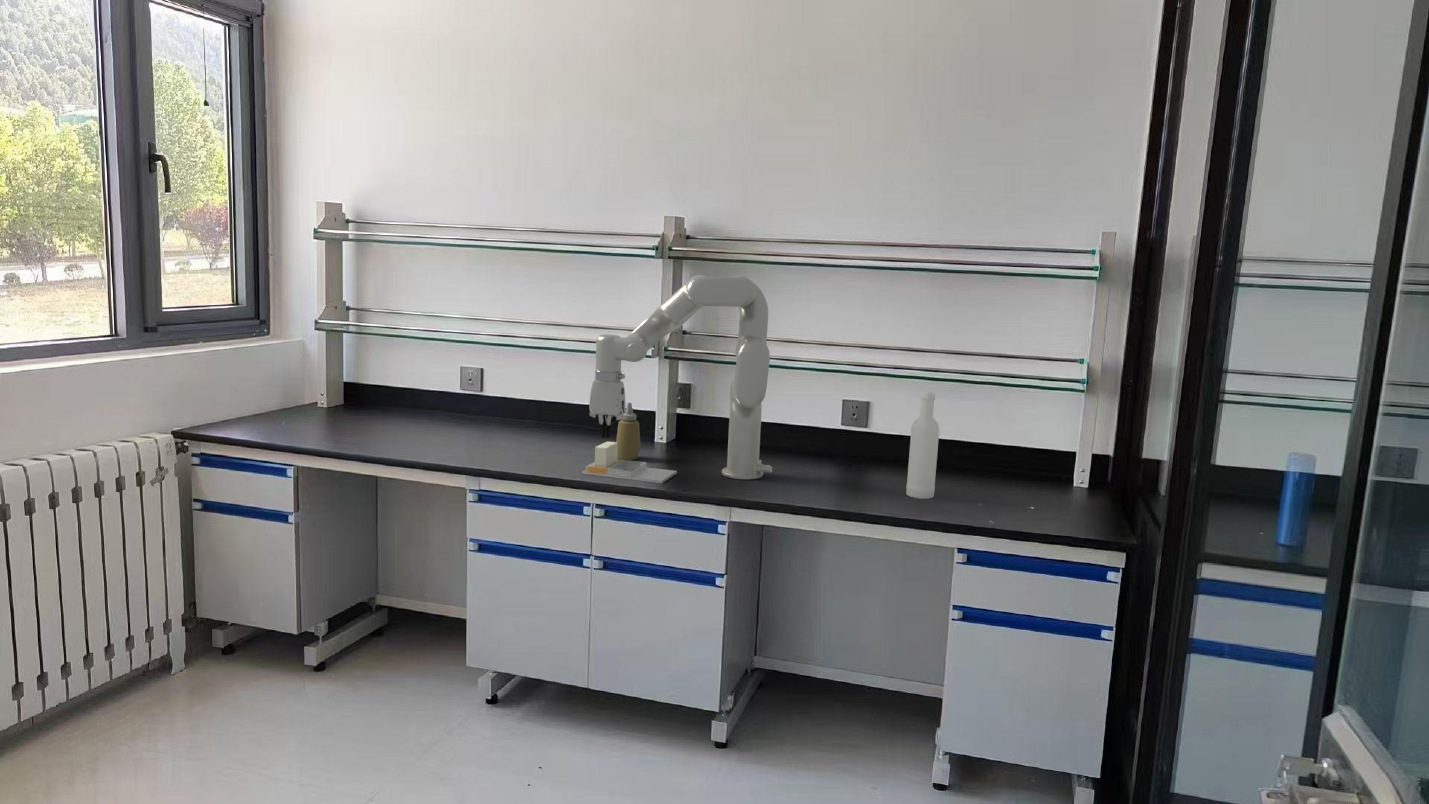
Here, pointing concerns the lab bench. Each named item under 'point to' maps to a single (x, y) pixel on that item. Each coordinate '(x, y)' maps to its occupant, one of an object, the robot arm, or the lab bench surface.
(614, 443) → the tall ivory prism
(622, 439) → the squeeze bottle
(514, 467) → the lab bench surface
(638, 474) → the grey framed tray board
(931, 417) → the bottle
